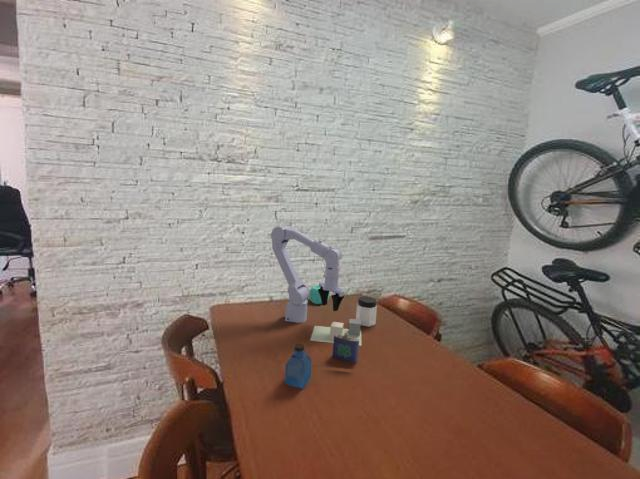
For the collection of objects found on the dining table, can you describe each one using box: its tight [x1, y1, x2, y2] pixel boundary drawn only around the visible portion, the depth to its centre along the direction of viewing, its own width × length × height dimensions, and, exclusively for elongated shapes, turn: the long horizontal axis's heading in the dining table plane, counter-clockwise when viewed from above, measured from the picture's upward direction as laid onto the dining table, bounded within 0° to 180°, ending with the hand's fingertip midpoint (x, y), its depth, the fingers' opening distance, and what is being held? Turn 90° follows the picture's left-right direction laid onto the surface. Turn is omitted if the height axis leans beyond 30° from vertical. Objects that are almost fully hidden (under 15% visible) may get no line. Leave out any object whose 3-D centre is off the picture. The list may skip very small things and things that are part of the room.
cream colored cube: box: [330, 321, 345, 338], centre depth 134 cm, size 5×5×5 cm
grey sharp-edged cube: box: [348, 318, 362, 336], centre depth 138 cm, size 5×5×5 cm
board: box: [309, 325, 362, 347], centre depth 135 cm, size 20×14×4 cm
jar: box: [355, 295, 378, 328], centre depth 149 cm, size 9×8×12 cm
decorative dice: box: [308, 284, 331, 305], centre depth 175 cm, size 8×8×8 cm
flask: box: [332, 333, 359, 363], centre depth 116 cm, size 9×3×11 cm, turn 68°
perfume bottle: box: [284, 342, 312, 390], centre depth 103 cm, size 6×6×12 cm
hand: (329, 307), depth 142 cm, fingers open, 7 cm apart
